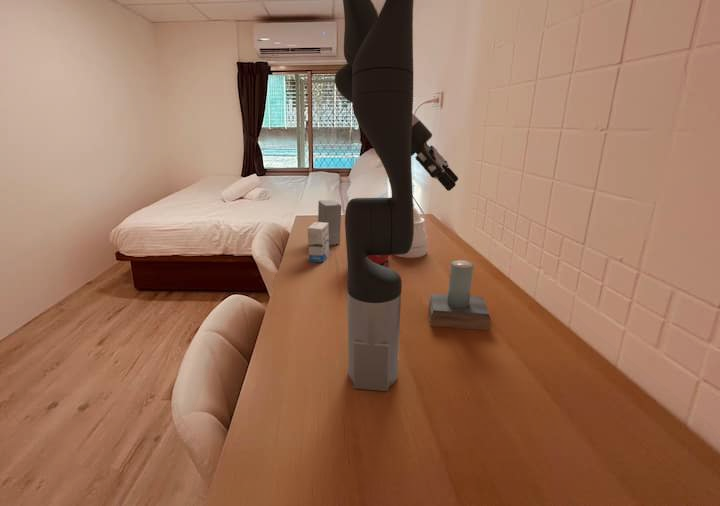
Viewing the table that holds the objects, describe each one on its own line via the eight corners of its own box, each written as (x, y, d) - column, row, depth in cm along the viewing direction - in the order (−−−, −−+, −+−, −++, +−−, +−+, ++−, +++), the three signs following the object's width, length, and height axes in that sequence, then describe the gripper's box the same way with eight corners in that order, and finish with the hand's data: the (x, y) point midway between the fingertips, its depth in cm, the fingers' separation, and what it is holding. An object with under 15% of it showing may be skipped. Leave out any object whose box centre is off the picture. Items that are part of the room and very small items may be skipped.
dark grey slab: (488, 330, 84) (491, 314, 82) (430, 326, 85) (431, 310, 84) (481, 310, 92) (483, 296, 91) (428, 307, 94) (429, 293, 92)
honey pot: (426, 258, 126) (430, 206, 120) (388, 256, 128) (390, 205, 122) (426, 246, 138) (429, 198, 132) (391, 244, 140) (393, 197, 134)
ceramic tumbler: (470, 309, 85) (475, 268, 81) (448, 307, 85) (452, 267, 82) (467, 299, 89) (471, 260, 86) (446, 298, 90) (449, 259, 86)
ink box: (322, 263, 122) (321, 229, 118) (308, 262, 123) (306, 228, 119) (330, 254, 130) (329, 222, 126) (316, 253, 131) (315, 221, 127)
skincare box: (317, 240, 144) (315, 200, 139) (334, 238, 147) (333, 198, 142) (324, 247, 137) (323, 205, 132) (342, 244, 140) (341, 203, 135)
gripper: (413, 119, 76) (465, 178, 77) (423, 119, 89) (468, 169, 89) (387, 145, 79) (438, 202, 80) (401, 141, 92) (444, 190, 93)
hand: (454, 184), depth 85 cm, fingers open, 8 cm apart
